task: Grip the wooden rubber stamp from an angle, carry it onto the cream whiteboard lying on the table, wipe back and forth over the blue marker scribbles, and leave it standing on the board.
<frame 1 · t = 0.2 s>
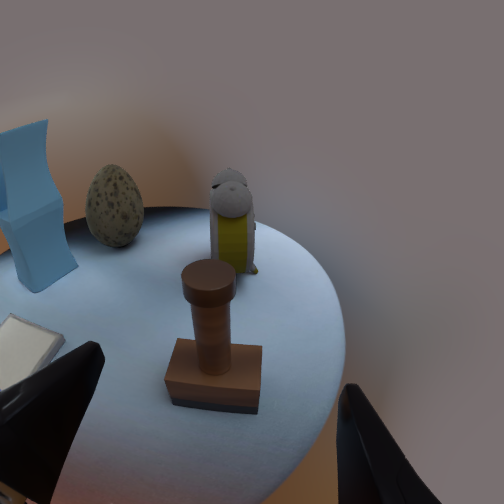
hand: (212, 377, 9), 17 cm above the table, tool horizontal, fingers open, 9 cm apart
vase: (45, 272, 41), on the table
decorative egg: (120, 244, 50), on the table
alarm clock: (235, 275, 43), on the table
wooden rubber stamp: (217, 389, 26), on the table
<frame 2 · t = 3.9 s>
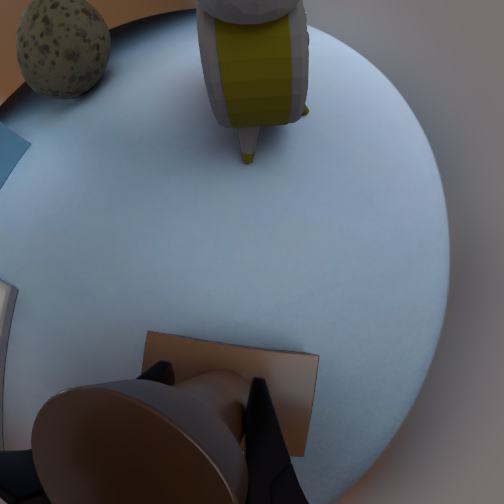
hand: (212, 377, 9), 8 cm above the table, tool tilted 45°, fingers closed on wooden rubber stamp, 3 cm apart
decorative egg: (86, 87, 27), on the table
alarm clock: (267, 117, 22), on the table
wooden rubber stamp: (234, 385, 16), on the table, touching gripper
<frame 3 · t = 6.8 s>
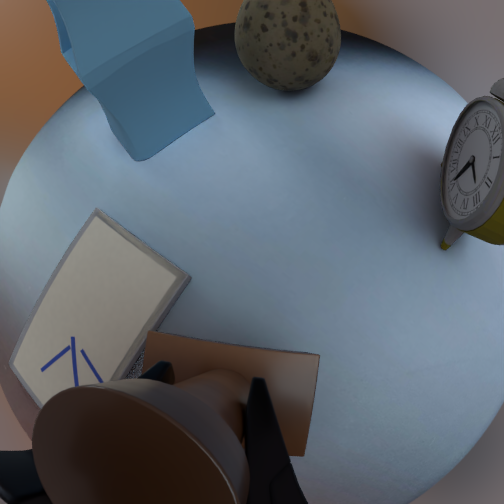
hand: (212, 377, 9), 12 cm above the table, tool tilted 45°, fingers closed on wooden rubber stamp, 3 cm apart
vase: (156, 118, 29), on the table
board: (82, 330, 22), on the table
decorative egg: (286, 83, 30), on the table
alarm clock: (456, 210, 23), on the table
wooden rubber stamp: (235, 385, 16), point 5 cm above the table, touching gripper
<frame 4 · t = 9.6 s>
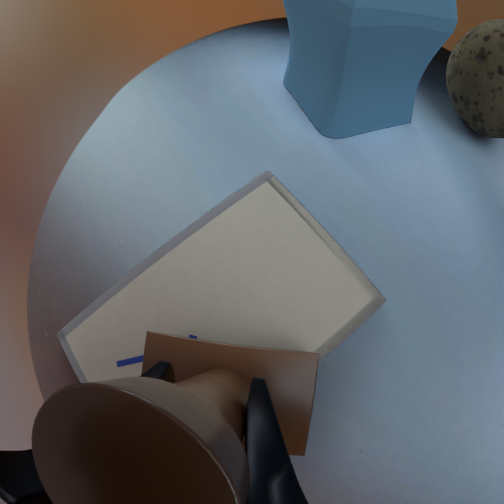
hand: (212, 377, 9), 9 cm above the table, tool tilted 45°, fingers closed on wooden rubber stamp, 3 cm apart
vase: (344, 97, 24), on the table
board: (205, 328, 18), on the table
decorative egg: (469, 121, 23), on the table
wooden rubber stamp: (234, 385, 16), point 1 cm above the table, touching gripper
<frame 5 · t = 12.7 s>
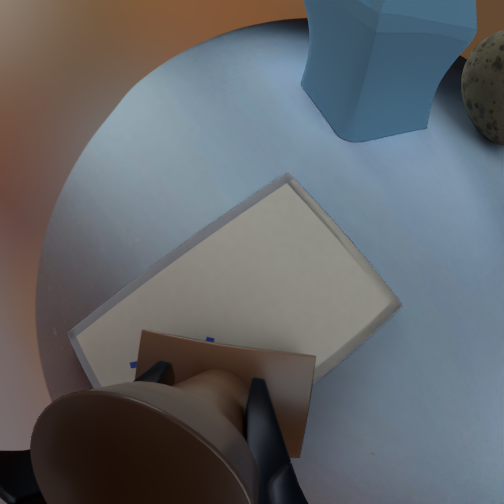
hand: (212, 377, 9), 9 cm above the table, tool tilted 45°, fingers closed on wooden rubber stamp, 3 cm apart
vase: (361, 100, 24), on the table
board: (222, 330, 18), on the table
decorative egg: (482, 128, 22), on the table
wooden rubber stamp: (228, 385, 16), point 1 cm above the table, touching board, gripper
when the fingers open (8 cm above the table, at t = 15.2 s): wooden rubber stamp stays where it is, resting on board.
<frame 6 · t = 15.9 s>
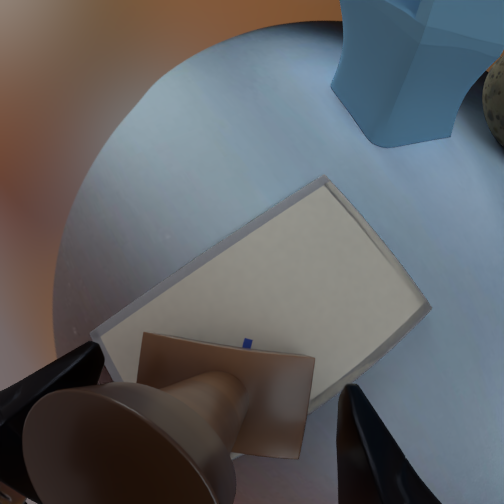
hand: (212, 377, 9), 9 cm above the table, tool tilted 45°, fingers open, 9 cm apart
vase: (389, 106, 23), on the table
board: (258, 332, 18), on the table
decorative egg: (499, 139, 22), on the table
wooden rubber stamp: (231, 386, 16), point 1 cm above the table, touching board
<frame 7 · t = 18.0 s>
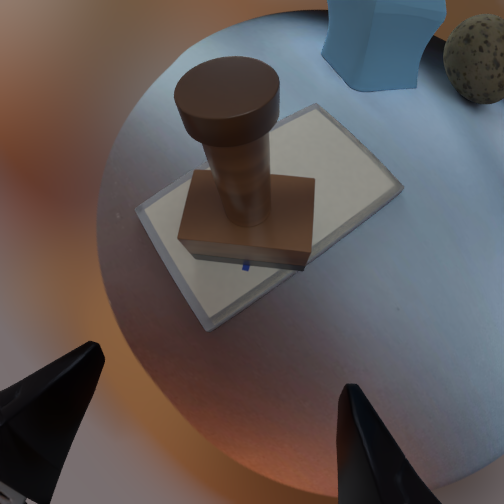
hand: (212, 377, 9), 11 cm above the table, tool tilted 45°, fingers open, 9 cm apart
vase: (366, 67, 29), on the table
board: (272, 199, 24), on the table
decorative egg: (463, 94, 28), on the table
wooden rubber stamp: (252, 233, 22), point 1 cm above the table, touching board
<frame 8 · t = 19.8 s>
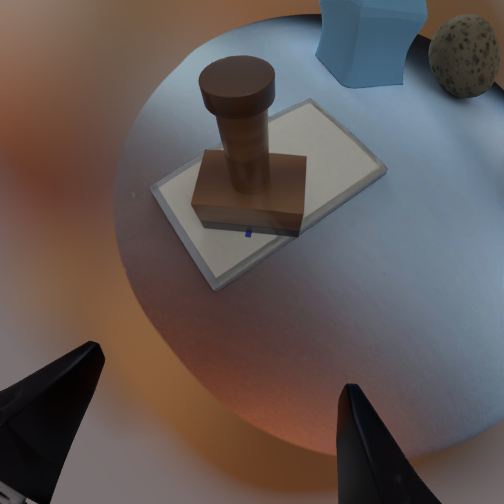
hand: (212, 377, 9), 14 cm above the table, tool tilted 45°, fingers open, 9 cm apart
vase: (356, 66, 32), on the table
board: (271, 178, 27), on the table
decorative egg: (448, 89, 31), on the table
wooden rubber stamp: (254, 206, 25), point 1 cm above the table, touching board
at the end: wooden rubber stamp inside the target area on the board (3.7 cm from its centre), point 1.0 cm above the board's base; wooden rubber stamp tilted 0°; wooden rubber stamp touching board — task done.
